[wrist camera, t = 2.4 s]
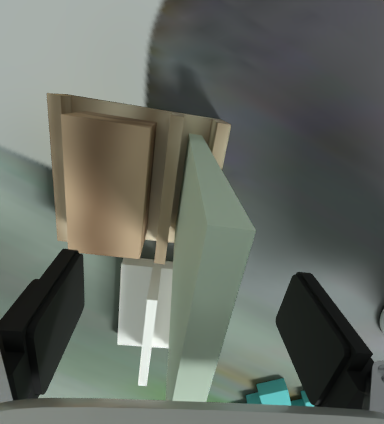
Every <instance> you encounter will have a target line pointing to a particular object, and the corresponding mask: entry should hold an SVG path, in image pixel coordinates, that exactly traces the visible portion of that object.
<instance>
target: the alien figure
mask: <svg viewBox="0 0 384 424" xmlns="http://www.w3.org/2000/svg"><path fill="white" fill-rule="evenodd" d="M256 385H257V389H258V392H257V393H253V394H248V395H246V399H247V403H244V404H267V405H290V406H312V407H314V405H312V404H311V403H310V402H309V400H308V398H307V395H306V393H305V391H301V395H302V399H299V400H294V401H290V397H289V393H288V389H287V386H286V384H285V381H284V378H282V379H277V380H273V381H268V382H264V383H259V384H256Z"/></svg>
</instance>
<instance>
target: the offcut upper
mask: <svg viewBox="0 0 384 424" xmlns="http://www.w3.org/2000/svg"><path fill="white" fill-rule="evenodd" d="M61 127H62V146H63V164H64V182H65V200H66V218H67V236H68V249H72V250H78V251H79V253H86V254H95V255H105V256H114V257H124V258H133V259H140V256H141V252H142V248H143V244H144V234H145V222H146V211H147V200H148V188H149V177H150V165H151V154H152V142H153V131H154V125H152V124H145V123H139V122H133V121H126V120H120V119H113V118H107V117H101V116H94V115H88V114H82V113H67V114H61Z"/></svg>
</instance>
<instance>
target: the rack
mask: <svg viewBox="0 0 384 424" xmlns="http://www.w3.org/2000/svg"><path fill="white" fill-rule="evenodd" d="M47 103H48V118H49V131H50V144H51V158H52V172H53V185H54V199H55V212H56V226H57V239H58V241H66V242H68V236H67V218H66V200H65V182H64V164H63V146H62V127H61V114H67V113H75V112H84V111H89V112H95V113H101V114H108V115H114V116H120V117H127V118H133V119H139V120H146V121H152V122H157V127H156V138H155V149H154V160H153V171H152V182H151V193H150V203H149V214H148V225H147V233H146V237H145V240H153V241H156V250H155V259H154V263H156V264H165V259H166V252H167V244H168V242H171V243H174V237H175V226H176V219H177V212H178V205H179V198H180V191H181V184H182V177H183V170H184V163H185V156H186V149H187V142H188V135H189V133H190V134H197V135H202V136H203V138H204V140H205V142H206V143H207V145H208V147H209V149H210V150H211V152H212V154H213V156H214V158H215V159H216V161H217V163H218V165H219V166H220V168H221V170H222V168H223V163H224V158H225V153H226V148H227V143H228V139H229V134H230V129H231V124H229V123H227V122H225V121H223V120H221V119H214V118H208V117H202V116H196V115H190V114H184V113H178V112H172V111H165V110H159V109H153V108H147V107H141V106H135V105H128V104H122V103H117V102H110V101H104V100H98V99H92V98H86V97H80V96H74V95H68V94H50V93H47Z"/></svg>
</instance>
